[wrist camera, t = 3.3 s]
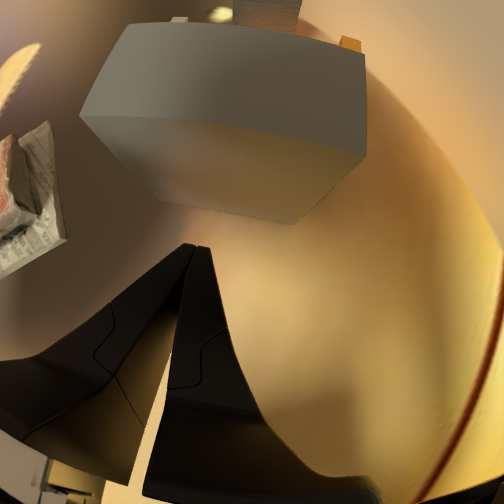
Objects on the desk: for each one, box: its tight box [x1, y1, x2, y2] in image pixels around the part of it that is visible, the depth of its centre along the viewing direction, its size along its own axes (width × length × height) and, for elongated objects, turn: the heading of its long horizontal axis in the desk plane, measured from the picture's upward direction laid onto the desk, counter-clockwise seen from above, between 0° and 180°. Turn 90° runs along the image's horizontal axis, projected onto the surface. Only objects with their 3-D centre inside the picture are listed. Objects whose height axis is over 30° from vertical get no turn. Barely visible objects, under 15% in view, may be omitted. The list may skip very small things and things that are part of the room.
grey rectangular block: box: [79, 22, 367, 225], centre depth 12 cm, size 4×8×10 cm, turn 80°
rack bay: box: [171, 0, 361, 53], centre depth 14 cm, size 10×12×8 cm
